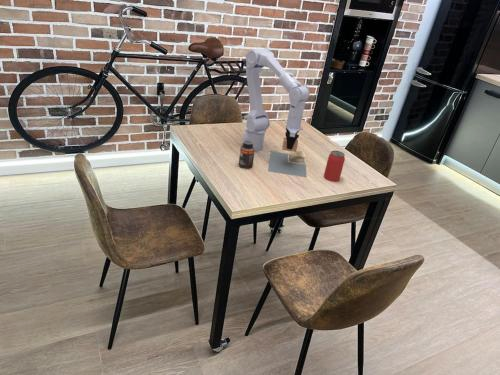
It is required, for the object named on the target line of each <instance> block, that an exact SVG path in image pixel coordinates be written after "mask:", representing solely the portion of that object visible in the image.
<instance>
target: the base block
mask: <svg viewBox="0 0 500 375" xmlns="http://www.w3.org/2000/svg"><path fill="white" fill-rule="evenodd" d="M289 154H290V162H297V163H303V164H304V159H305V160H306V155H305V151H300V150H297V151H296V152H293V151H290V153H289Z"/></svg>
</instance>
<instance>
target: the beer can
mask: <svg viewBox="0 0 500 375" xmlns="http://www.w3.org/2000/svg"><path fill="white" fill-rule="evenodd" d="M345 157H346V156H345V152H342V151H340V150H331V152H330V153H329V155H328V157H327V161H326V166H325V169H324V174H323V179H324V180H327V181H328V182H331V183H333V182H334V183H335V182H339V181H340V178H341V175H342V172H343V169H344V168H343V167H344V164H345V161H346V158H345Z"/></svg>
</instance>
